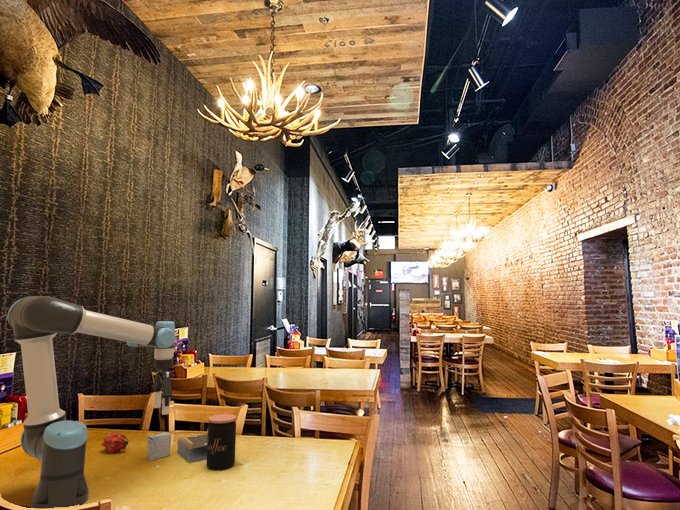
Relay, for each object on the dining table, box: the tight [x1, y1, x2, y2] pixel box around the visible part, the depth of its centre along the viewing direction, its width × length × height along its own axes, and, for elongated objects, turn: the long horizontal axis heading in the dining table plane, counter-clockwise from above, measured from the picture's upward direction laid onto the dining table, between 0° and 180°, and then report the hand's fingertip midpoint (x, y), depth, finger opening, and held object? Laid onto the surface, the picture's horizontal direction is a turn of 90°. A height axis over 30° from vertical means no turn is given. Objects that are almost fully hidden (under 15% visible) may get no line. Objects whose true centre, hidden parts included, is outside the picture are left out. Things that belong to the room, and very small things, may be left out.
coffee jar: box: [206, 413, 237, 471], centre depth 164 cm, size 11×11×18 cm
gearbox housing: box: [176, 429, 208, 464], centre depth 177 cm, size 16×17×7 cm
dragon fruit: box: [101, 431, 130, 454], centre depth 179 cm, size 8×8×12 cm
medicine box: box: [146, 432, 172, 462], centre depth 173 cm, size 8×4×9 cm, turn 141°
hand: (161, 410), depth 174 cm, fingers open, 13 cm apart
